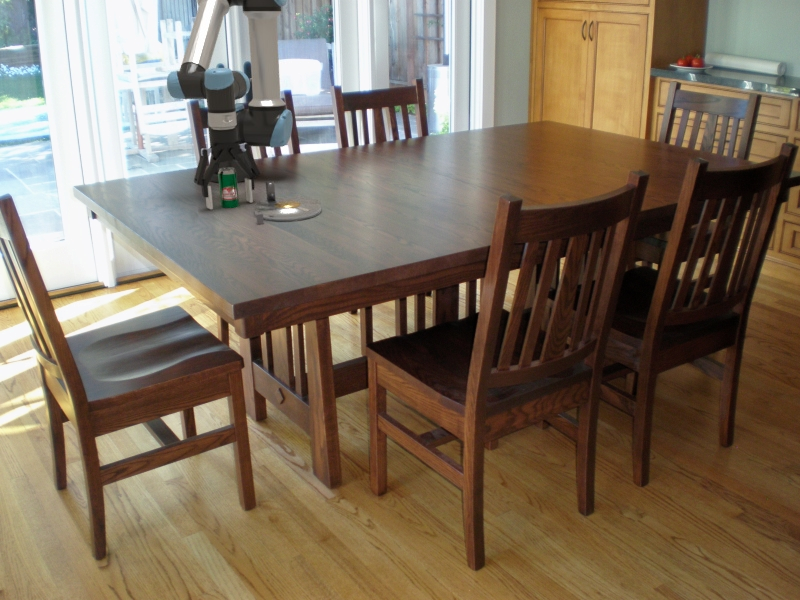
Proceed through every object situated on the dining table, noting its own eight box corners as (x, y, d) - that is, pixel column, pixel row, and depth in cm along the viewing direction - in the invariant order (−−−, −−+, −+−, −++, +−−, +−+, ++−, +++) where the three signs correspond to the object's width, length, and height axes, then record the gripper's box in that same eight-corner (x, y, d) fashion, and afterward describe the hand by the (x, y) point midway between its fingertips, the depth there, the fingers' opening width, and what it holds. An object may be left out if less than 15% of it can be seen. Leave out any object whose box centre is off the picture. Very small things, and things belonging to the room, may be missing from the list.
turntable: (242, 216, 223) (239, 191, 220) (278, 200, 238) (276, 176, 235) (299, 224, 216) (297, 198, 213) (332, 207, 231) (331, 182, 228)
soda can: (222, 213, 231) (218, 171, 226) (220, 209, 235) (217, 167, 231) (240, 212, 232) (236, 170, 228) (238, 207, 237) (235, 166, 232)
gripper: (186, 134, 216) (195, 214, 224) (268, 124, 228) (273, 200, 236) (176, 130, 221) (184, 208, 230) (256, 120, 234) (262, 195, 242)
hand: (230, 204), depth 233 cm, fingers open, 11 cm apart
